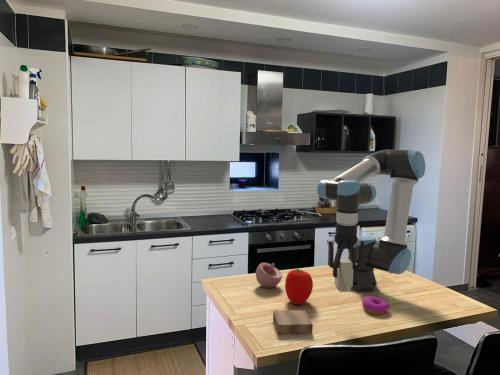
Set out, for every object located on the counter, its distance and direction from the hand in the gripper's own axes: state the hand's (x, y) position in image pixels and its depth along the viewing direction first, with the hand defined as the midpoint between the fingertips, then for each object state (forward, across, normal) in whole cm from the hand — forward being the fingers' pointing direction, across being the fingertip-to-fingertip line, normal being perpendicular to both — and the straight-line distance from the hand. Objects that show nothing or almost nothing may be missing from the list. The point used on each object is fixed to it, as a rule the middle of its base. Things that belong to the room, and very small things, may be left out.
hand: (343, 285), depth 140 cm
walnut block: (+14, +20, +4) cm, 24 cm away
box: (+2, 0, 0) cm, 2 cm away
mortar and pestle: (+14, +23, -34) cm, 44 cm away
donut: (+15, -17, -9) cm, 24 cm away
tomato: (+14, +12, -18) cm, 26 cm away
